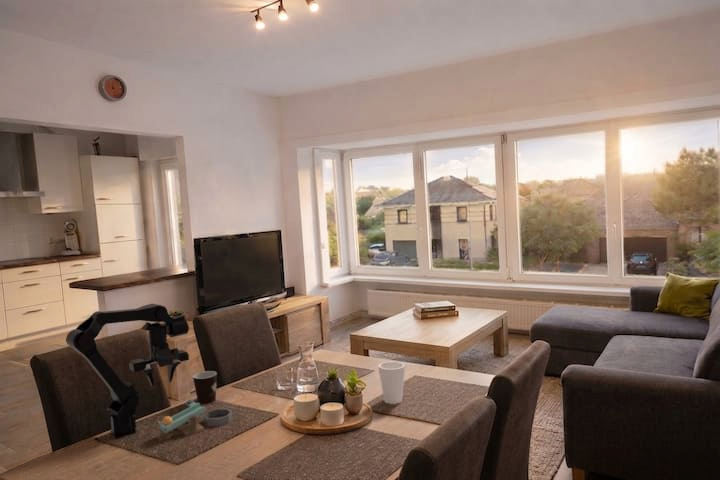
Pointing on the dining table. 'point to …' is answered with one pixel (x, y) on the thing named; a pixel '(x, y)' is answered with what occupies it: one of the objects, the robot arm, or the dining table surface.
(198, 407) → the lever
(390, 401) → the foam cup
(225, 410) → the bowl
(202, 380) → the coffee mug
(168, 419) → the ball
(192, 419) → the fulcrum
